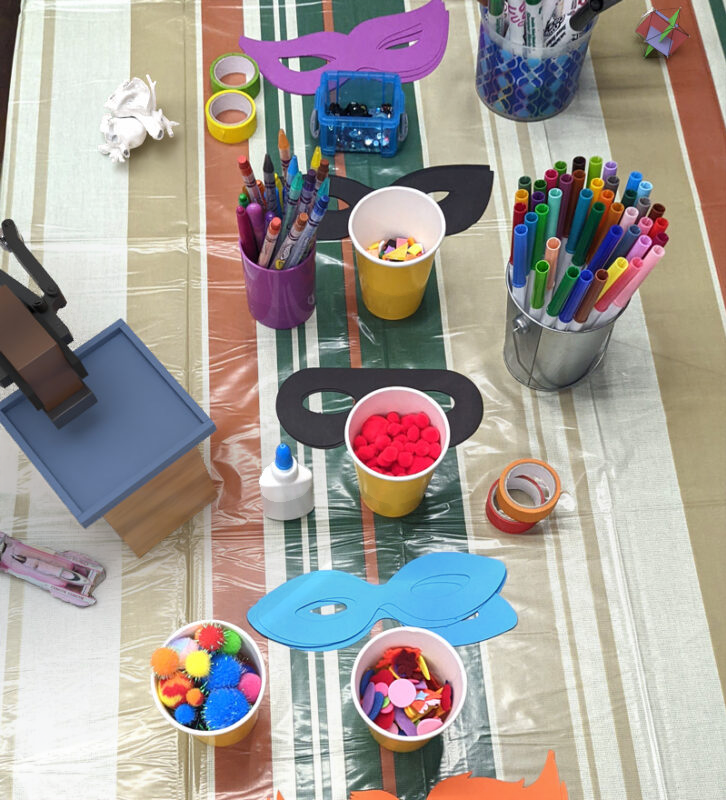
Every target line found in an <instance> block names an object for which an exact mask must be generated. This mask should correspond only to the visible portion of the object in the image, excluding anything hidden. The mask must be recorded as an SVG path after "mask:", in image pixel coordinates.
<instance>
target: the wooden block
mask: <svg viewBox="0 0 726 800" xmlns="http://www.w3.org/2000/svg"><path fill="white" fill-rule="evenodd" d="M219 497H220V494H219V492H218V490H217V488H216V486H215V484H214V481H213V479H212V477H211V474H210V472H209V469H208V468H207V465H206V463H205V461H204V459H203V456H202V454H201V451H200V449H199V447H198V445H197V446H195V447H194V448H193V449H191V450H190V451H189V452H187V453H186V454H185V455H183V456H182V457H181V458H179V459H178V460H177V461H175V462H174V463H173V464H171V465H170V466H169V467H167V468H166V469H165V470H163V471H162V472H161V473H159V474H158V475H157V476H155V477H154V478H153V479H151V480H150V481H149V482H147V483H146V484H145V485H143V486H142V487H141V488H139V489H138V490H137V491H135V492H134V493H133V494H131V495H130V496H129V497H127V498H126V499H125V500H123V501H122V502H121V503H119V504H118V505H117V506H115V507H114V508H113V509H112V510H110V511H109V512H108V513H106V514H105V515H104V516H102V517H103V518H104V519H105V520H106V522H107V523H108V524H109V525H110V527H111V528H112V529H113V530H114V531H115V532H116V534H117V535H118V536H119V537H120V538H121V540H123V542H124V543H125V544H126V545H127V546H128V548H129V549H130V550H131V551H132V553H133V554H134V555H135V556H136V557H137V558H138V559H140V558H142V557H143V556H145V554H147V553H148V552H149V551H150V550H152V549H154V548H155V547H156V546H157V545H158V544H160V543H161V542H162V541H164V540H165V539H166V538H168V537H169V536H170V535H172V534H173V533H174V532H175V531H177V530H178V529H179V528H180V527H182V526H183V525H184V524H185V523H187V522H188V521H189V520H191V519H192V518H194V516H196V515H197V514H199V513H200V512H201V511H203V510H204V509H205V508H206V507H207V506H209V505H210V504H211V503H213V502H214V501H216V500H217V499H218V498H219Z"/></svg>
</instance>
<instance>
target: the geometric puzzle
mask: <svg viewBox="0 0 726 800" xmlns="http://www.w3.org/2000/svg"><path fill="white" fill-rule="evenodd" d="M673 9H675V10H676V7H673V8H672V7H671V8H670V10H673ZM665 10H667V8H663V9H660V10H658V9H657V8H656V7H654V5H653V6H651V7H650V8H649V9H647V10H646V11H645V12H643V14H641V16H640V19H639V21H638V23H637V25H636V28H635V29H634V32H635V33H636V34H635V35H636V37H637V41H638V43H639V47H640V49H641V51H642V48H641V45H640V39H639V37H638V36H640V38H641V39H642V40H643V42H644V43H645V44H647V48H646V49H644V51H643V59H651V56H648V55H649V54H650V53H651V52H652V51H653V50H654V49H655V50H657V52H659V53H660V54H662V55H663V57H665V58H667V59H668V58H669V57H670V56H672V54H674V52H676V51H677V50H678V49H679V48H680V46H682V45H683V44H684V42H685V41H687V40H688V39H689V38H690V37H691V36H690V34H689V30H688V29H686V31H687V32H688V33H687V32H686V31H685V30H684V29H683V28H682V27H681V26H680V22H678V24H677V20H678V19H680V18H681V17H680V16H681V13H680V12H681V10H682V7H681V6H680V7H679V8H678V10H677V11H676V12H675V13H674V14H672V16H671V17H670V18H669V17H668V16H666V15H665V14H664V13H662V12H661V11H665ZM644 18H645V19H644ZM643 19H644V20H643ZM682 19H683V21H684V22H686V21H685V18H684V14H683V13H682ZM642 20H643V21H642ZM643 37H644V38H645V39H644V38H643ZM647 56H648V57H647ZM654 58H660V55H657V56H653V59H654Z"/></svg>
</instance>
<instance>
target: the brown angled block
mask: <svg viewBox="0 0 726 800" xmlns="http://www.w3.org/2000/svg"><path fill="white" fill-rule="evenodd" d="M0 352H1V353H2V354H3V355H4V357H5V358H6V359H7V360H8V361H9V363H10V364H11V365H12V366H13V367H14V368H15V370H16V371H17V372H18V373H19V374H20V376H21V377H22V378H23V379H24V380H25V381H26V382H27V384H28V385H29V386H30V387H31V388H32V390H33V391H34V392H35V393H36V395H37V396H38V397H39V399H40V400H41V401H42V403H43V404H44V405H45V407H43V408H42V409H41V410H42V411H43V412H44V413H45V415H46V416H47V417H48V418H49V419H50V421H51V422H52V423H53V424H54V425H55V427H56V428H57V429H58V430H60V429H61V428H63V427H64V426H65V425H67V424H68V423H69V422H71V421H72V420H74V419H75V418H76V417H78V416H79V415H80V414H82V413H83V412H85V411H86V410H87V409H89V408H90V407H91V406H93V405H94V404H96V403H97V402H98V400H97V398H96V396H95V395H94V393H93V392H92V390H91V389H90V388H89V387H88V386H87V385H86V383H85V382H84V381H83V380H82V379H81V378H80V377H79V376H78V375H77V373H76V372H75V371H74V370H73V369H72V367H71V365H70V364H69V362H68V361H67V359H66V358H65V356H64V354H63V352H62V351H61V349H60V347H59V346H58V344H57V343H56V342H55V341H54V339H53V338H52V337H51V336H50V335H49V334H48V333H47V331H46V330H45V329H44V328H43V327H42V326H41V325H40V323H39V322H38V321H37V320H36V319H35V318H34V316H33V315H32V314H31V313H30V312H29V311H28V310H27V308H26V307H25V306H24V305H23V304H22V303H21V302H20V300H19V299H18V298H17V297H16V296H15V295H14V294H13V292H12V291H11V290H10V289H9V288H8V287H7V285H6V284H4V285H3V286H1V287H0Z"/></svg>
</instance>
